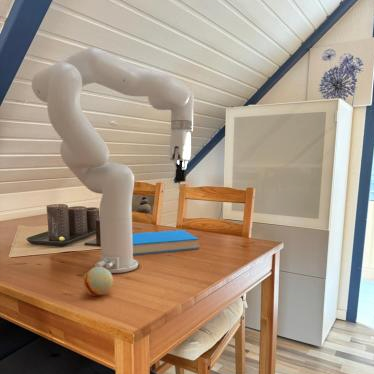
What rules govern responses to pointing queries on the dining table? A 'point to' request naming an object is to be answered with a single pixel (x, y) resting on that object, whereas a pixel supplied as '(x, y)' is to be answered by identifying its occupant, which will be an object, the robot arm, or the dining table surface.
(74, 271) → the dining table surface
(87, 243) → the bookend
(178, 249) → the book
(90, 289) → the ball
